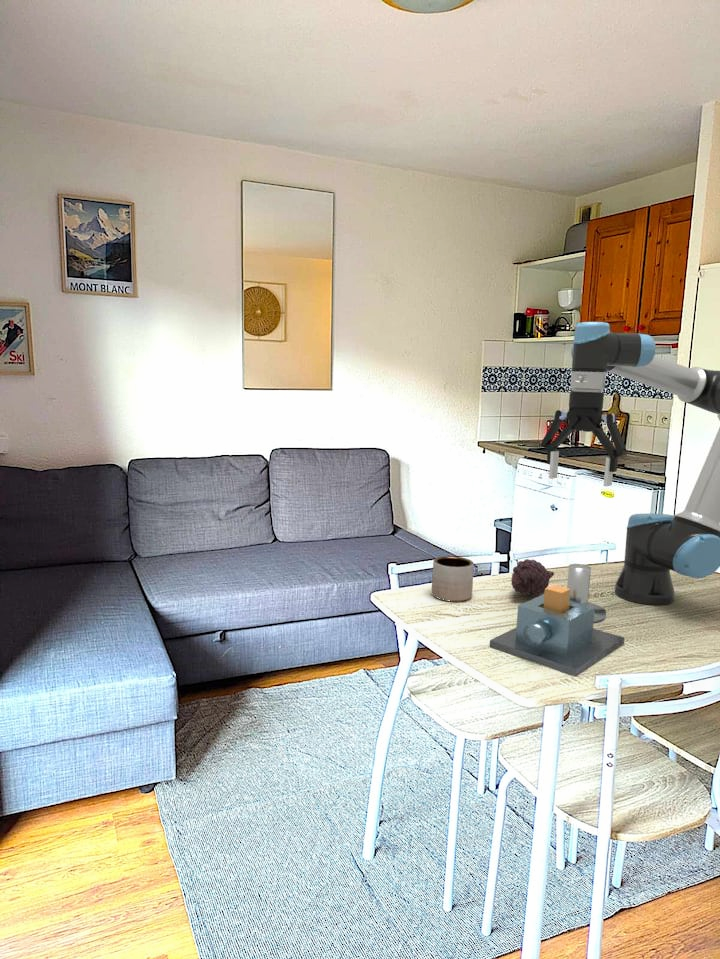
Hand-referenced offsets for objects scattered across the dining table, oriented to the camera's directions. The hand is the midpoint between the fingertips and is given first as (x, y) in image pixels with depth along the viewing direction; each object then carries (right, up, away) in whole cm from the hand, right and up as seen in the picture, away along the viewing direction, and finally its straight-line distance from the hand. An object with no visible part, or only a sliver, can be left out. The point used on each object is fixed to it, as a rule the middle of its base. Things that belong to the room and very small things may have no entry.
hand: (579, 481), depth 160 cm
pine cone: (-6, -31, +25) cm, 40 cm away
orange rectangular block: (-9, -35, -10) cm, 38 cm away
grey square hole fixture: (-7, -36, -8) cm, 38 cm away
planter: (-27, -31, +23) cm, 47 cm away
